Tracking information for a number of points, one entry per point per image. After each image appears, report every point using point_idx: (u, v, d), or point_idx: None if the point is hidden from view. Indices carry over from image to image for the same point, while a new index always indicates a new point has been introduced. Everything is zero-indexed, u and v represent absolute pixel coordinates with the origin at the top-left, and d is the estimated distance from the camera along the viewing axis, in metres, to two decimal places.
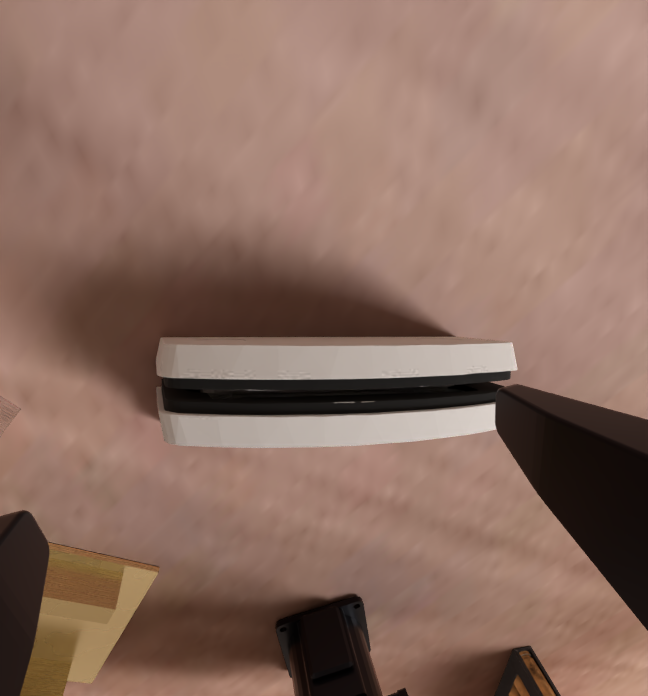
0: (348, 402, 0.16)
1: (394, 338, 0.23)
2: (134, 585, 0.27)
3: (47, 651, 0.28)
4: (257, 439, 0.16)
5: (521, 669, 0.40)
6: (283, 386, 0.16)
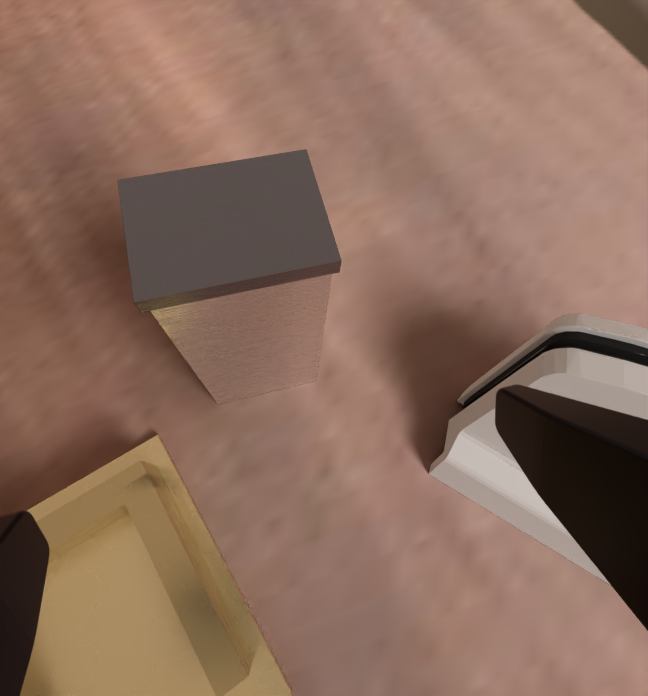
0: None
1: None
2: (249, 693, 0.17)
3: None
4: None
5: None
6: None
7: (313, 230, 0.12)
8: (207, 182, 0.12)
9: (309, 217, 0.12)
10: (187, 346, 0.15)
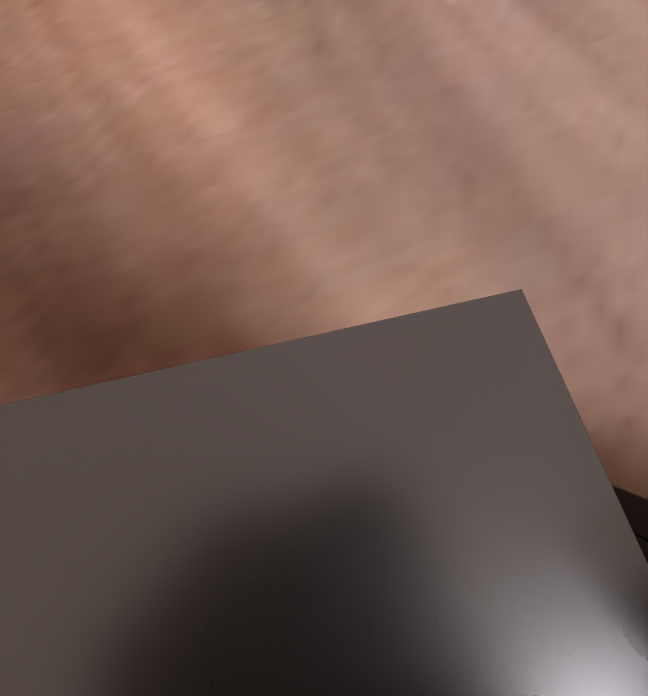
0: None
1: None
2: None
3: None
4: None
5: None
6: None
7: (606, 610, 0.03)
8: (235, 418, 0.04)
9: (581, 552, 0.04)
10: None
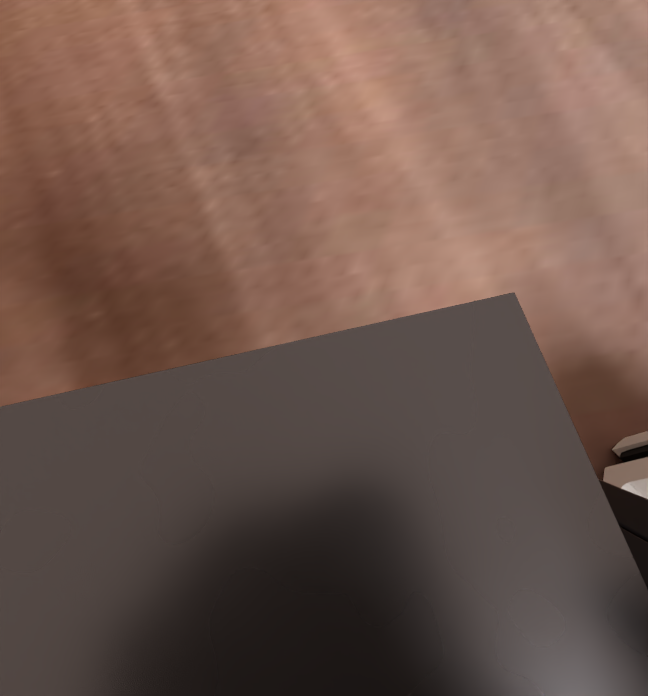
0: None
1: None
2: None
3: None
4: None
5: None
6: None
7: (592, 599, 0.04)
8: (238, 415, 0.04)
9: (569, 544, 0.04)
10: None
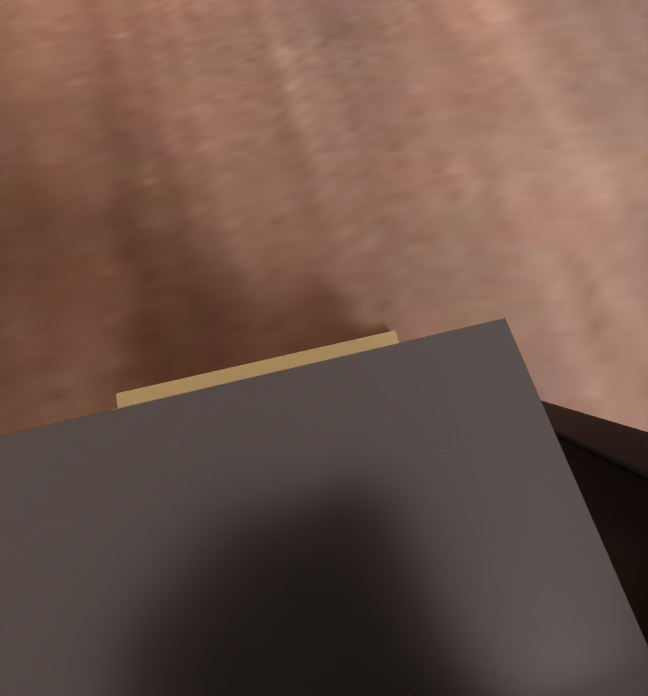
0: None
1: None
2: None
3: None
4: None
5: None
6: None
7: (575, 607, 0.04)
8: (248, 436, 0.04)
9: (555, 556, 0.04)
10: None
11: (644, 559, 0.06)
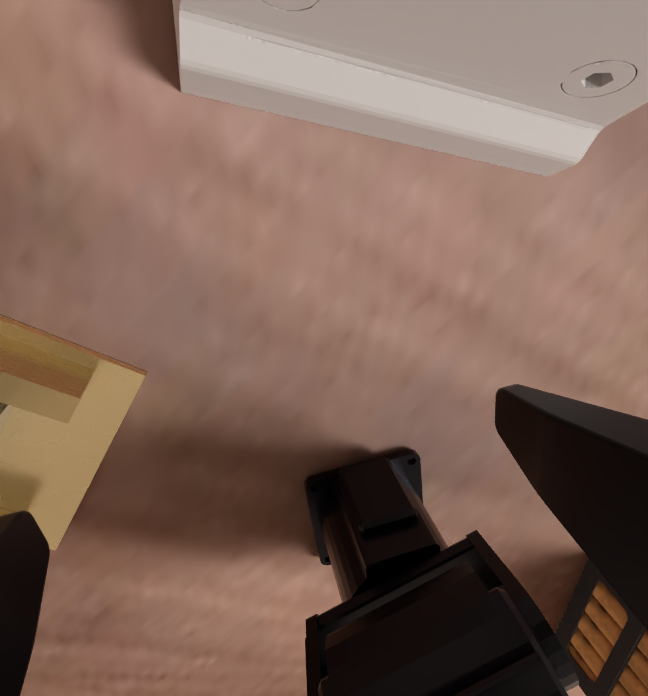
0: None
1: None
2: (111, 393, 0.19)
3: None
4: None
5: None
6: None
7: None
8: None
9: None
10: None
11: None
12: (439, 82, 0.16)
